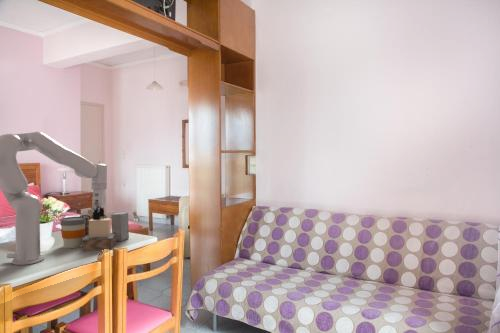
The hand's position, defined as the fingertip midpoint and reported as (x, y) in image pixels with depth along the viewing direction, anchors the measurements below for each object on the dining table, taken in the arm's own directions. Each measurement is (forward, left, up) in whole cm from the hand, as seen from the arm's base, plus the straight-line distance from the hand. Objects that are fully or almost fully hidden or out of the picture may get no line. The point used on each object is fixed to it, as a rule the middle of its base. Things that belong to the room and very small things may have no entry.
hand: (98, 218), depth 181 cm
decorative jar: (-8, +18, -16) cm, 26 cm away
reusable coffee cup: (-15, +6, -16) cm, 23 cm away
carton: (+1, +1, -10) cm, 10 cm away
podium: (0, 0, -16) cm, 16 cm away
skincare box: (+8, +15, -16) cm, 24 cm away
